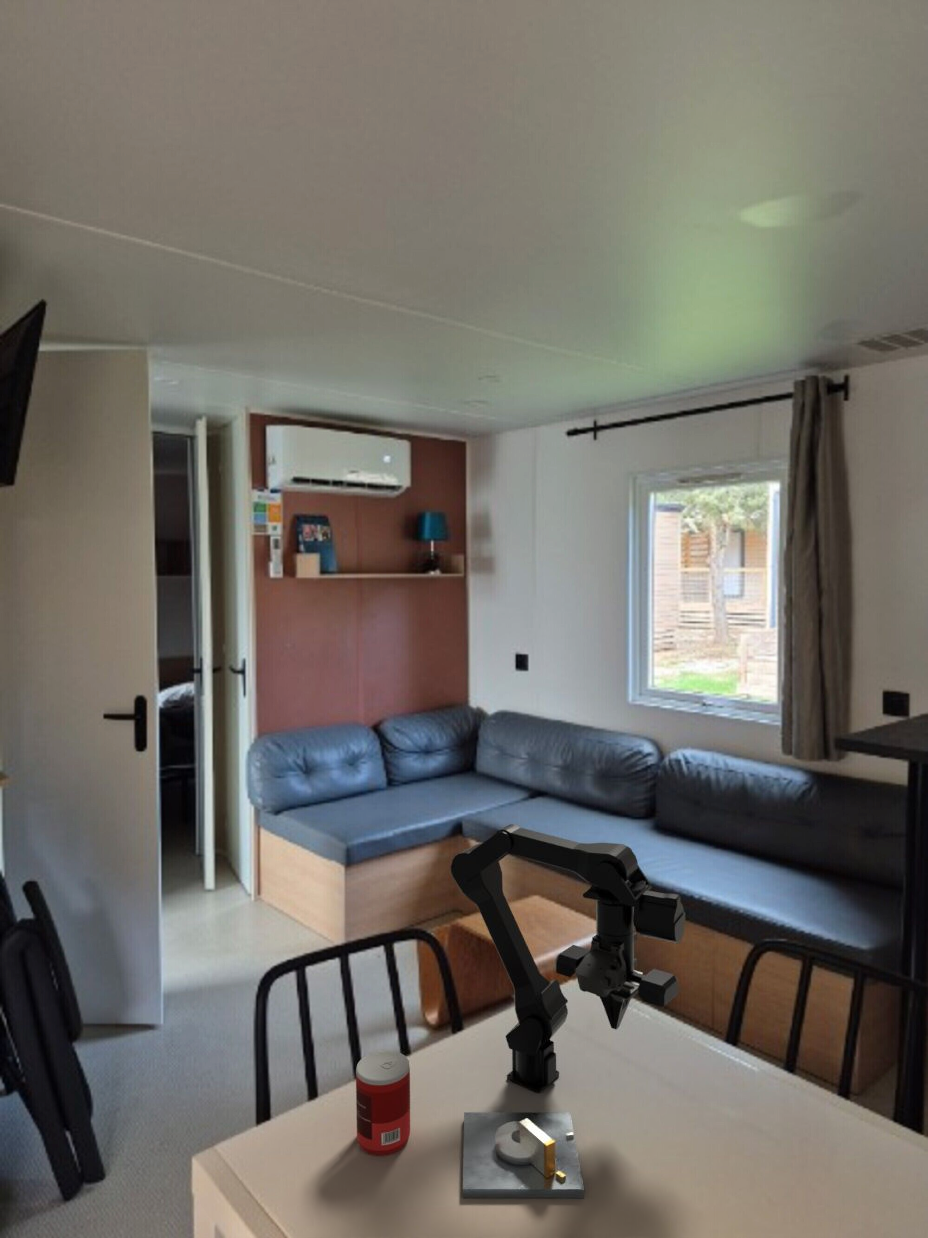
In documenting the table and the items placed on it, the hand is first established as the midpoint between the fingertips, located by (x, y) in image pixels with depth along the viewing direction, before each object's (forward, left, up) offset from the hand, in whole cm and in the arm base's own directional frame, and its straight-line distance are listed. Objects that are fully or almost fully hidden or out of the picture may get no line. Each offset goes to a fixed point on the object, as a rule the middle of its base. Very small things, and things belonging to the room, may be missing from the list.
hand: (615, 1028), depth 127 cm
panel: (-5, -19, -12) cm, 23 cm away
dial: (-3, -20, -11) cm, 23 cm away
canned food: (-23, -28, -12) cm, 38 cm away
